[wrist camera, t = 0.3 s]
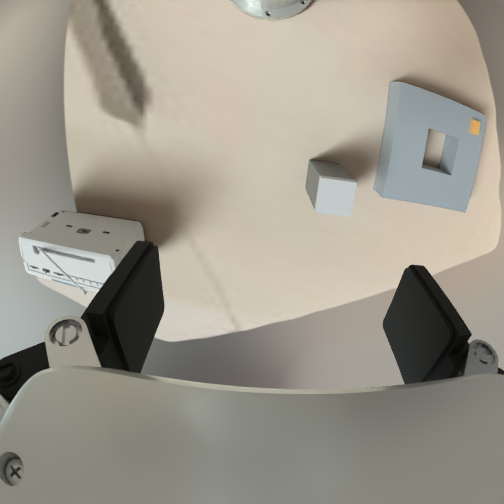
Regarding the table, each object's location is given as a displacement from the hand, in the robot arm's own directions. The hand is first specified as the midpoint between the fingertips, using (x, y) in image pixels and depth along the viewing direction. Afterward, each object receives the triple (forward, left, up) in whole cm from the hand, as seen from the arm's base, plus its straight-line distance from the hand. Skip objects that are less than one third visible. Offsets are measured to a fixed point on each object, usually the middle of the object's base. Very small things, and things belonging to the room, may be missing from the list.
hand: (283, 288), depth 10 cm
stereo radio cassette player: (+17, -30, -35) cm, 49 cm away
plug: (+5, +9, -35) cm, 36 cm away
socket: (-3, +27, -35) cm, 44 cm away
